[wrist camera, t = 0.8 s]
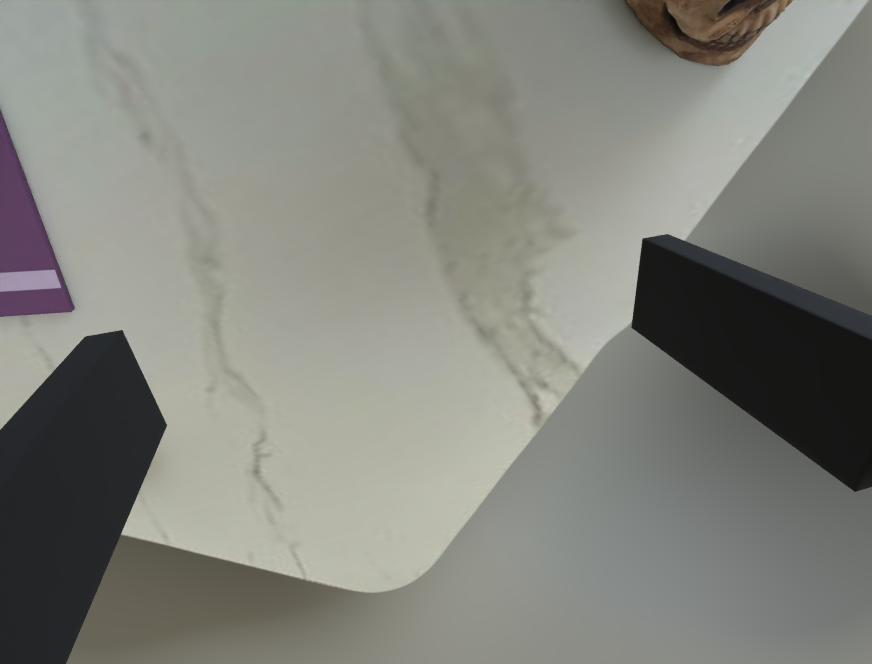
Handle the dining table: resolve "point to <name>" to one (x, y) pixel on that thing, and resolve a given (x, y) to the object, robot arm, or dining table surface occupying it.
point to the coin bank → (708, 25)
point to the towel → (25, 246)
